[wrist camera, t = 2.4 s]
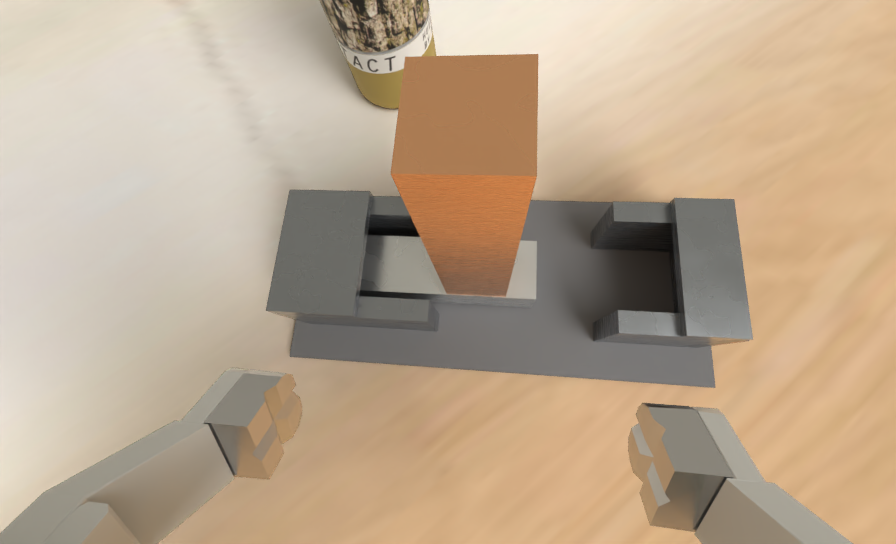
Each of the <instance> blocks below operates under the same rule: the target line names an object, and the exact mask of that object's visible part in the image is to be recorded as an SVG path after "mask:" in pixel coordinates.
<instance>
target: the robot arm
mask: <svg viewBox="0 0 896 544" xmlns="http://www.w3.org/2000/svg"><path fill="white" fill-rule="evenodd" d="M295 385H296V384H295V381H294V378H293V375H291V374H287V373H279V372H270V371H261V370H252V369H250V370H249V369H240V368H230V369H228V370H226V371H225V372H224V373H223V374H222V375H221V376H220V377H219V378H218V380H217V381H216V382H215V383H214V384H213V385H212V386H211V387H210V389H209V390H208V391H207V392H206V393H205V394H204V395H203V396H202V398H201V399H200V400H199V401H198V402H197V403H196V404H195V405H194V407H193V408H192V409H191V410H190V411H189V412H188V413H187V414H186V416H185V417H184V418H183V419H182V420H181V421H173V422H171V423H169V424H167V425H166V426H164V427H162V428H160V429H158V430H157V431H155V432H153V433H151V434H149V435H147V436H146V437H144V438H142V439H140V440H138V441H136V442H135V443H133V444H131V445H129V446H127V447H126V448H124V449H122V450H120V451H118V452H116V453H115V454H113V455H111V456H109V457H107V458H105V459H104V460H102V461H100V462H98V463H96V464H95V465H93V466H91V467H89V468H87V469H85V470H84V471H82V472H80V473H78V474H76V475H74V476H73V477H71V478H69V479H67V480H65V481H64V482H62V483H60V484H58V485H56V486H54V487H53V488H51V489H49V490H47V491H45V492H44V493H42V494H41V495H40V496H39V497H38V498H37V499H36V500H35V501H34V502H33V503H32V504H31V505H30V506H29V507H28V508H27V509H25V510H24V511H23V512H22V513H21V514H20V515H19V516H18V517H17V518H16V519H15V520H14V521H13V522H12V523H11V524H10V525H9V526H8V527H6V528H5V529H4V530H3V531H2V532H1V533H0V544H158V543H159V542H160V541H161V540H162V539H164V538H165V537H166V536H167V535H168V534H169V533H171V532H172V531H173V530H174V529H175V528H177V527H178V526H179V525H180V524H181V523H183V522H184V521H185V520H186V519H187V518H188V517H190V516H191V515H192V514H193V513H194V512H196V511H197V510H198V509H199V508H200V507H202V506H203V505H204V504H205V503H206V502H207V501H209V500H210V499H211V498H212V497H213V496H215V495H216V494H217V493H218V492H219V491H221V490H222V489H223V488H224V487H225V486H227V485H228V484H229V483H230V482H231V481H232V480H234V476H235V477H246V478H257V479H268V480H269V479H270V477H271V476H272V474H273V472H274V470H275V468H276V467H277V465H278V463H279V461H280V459H281V458H282V456H283V454H284V451H283V443H285V442H286V441H288V440H289V439H290V438H292V437H293V436H294V434H295V432H296V430H297V428H298V426H299V423H300V419H301V415H302V404H301V400H300V397H299V396H297V395H296V394H295V393H294V392H293V391H292V390H293V389H294V387H295ZM636 416H637V419H638V422H639V423H638V424H637V425H635V426H634V427H632V428H631V431H630V435H629V438H628V452H629V458H630V463H631V466H632V470H633V473H634V474H635V475H636V476H637V477H638V478H639V479H640V480H641V481H642V482H643V485H642V488H641V490H640V496H641V499H642V502H643V505H644V508H645V511H646V514H647V518H648V521H649V524H650V525H651V526H658V527H664V528H671V529H678V530H685V531H691V532H695V536H696V537H697V538H698V539H699V540H700V542H701V543H702V544H853V543H852V542H850V541H849V540H848V539H846V538H845V537H844V536H842V535H841V534H840V533H839V532H837V531H836V530H835V529H833V528H832V527H831V526H829V525H828V524H827V523H826V522H824V521H823V520H822V519H820V518H819V517H818V516H816V515H815V514H814V513H813V512H811V511H810V510H809V509H807V508H806V507H805V506H803V505H802V504H801V503H800V502H798V501H797V500H796V499H794V498H793V497H792V496H791V495H789V494H788V493H787V492H785V491H784V490H783V489H781V488H780V487H779V486H778V485H776V484H775V483H770V482H766V481H765V480H764V478H763V477H762V475H761V473H760V472H759V470H758V469H757V467H756V465H755V464H754V462H753V461H752V459H751V457H750V456H749V454H748V453H747V451H746V449H745V448H744V446H743V444H742V443H741V441H740V440H739V438H738V436H737V435H736V433H735V432H734V430H733V428H732V427H731V425H730V424H729V422H728V420H727V419H726V417H725V416H724V414H723V413H722V412H721V411H720V410H718V409H714V408H701V407H689V406H677V405H664V404H650V403H642V404H641V405H640V406H639V407H638V410H637V413H636Z"/></svg>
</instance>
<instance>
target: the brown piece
mask: <svg viewBox="0 0 896 544" xmlns="http://www.w3.org/2000/svg"><path fill="white" fill-rule="evenodd" d="M537 110H538V54H524V55H470V56H416V57H405V62H404V70H403V78H402V86H401V94H400V102H399V110H398V118H397V126H396V134H395V142H394V151H393V159H392V167H391V176H392V178H393V180H394V182H395V184H396V186H397V188H398V191H399V193H400V195H401V197H402V199H403V201H404V203H405V206H406V208H407V210H408V212H409V214H410V216H411V218H412V221H413V223H414V225H415V227H416V229H417V231H418V233H419V236H420V237H407V236H378V235H367V243H366V250H365V257H364V265H363V272H362V280H361V287H360V294H359V296H364V297H383V298H401V299H420V300H430V302H435V303H454V304H472V305H491V306H509V307H528V308H531V306H532V305H533V303H534V302H535V300H536V273H537V241H522V240H520V239H521V236H522V232H523V228H524V224H525V220H526V216H527V212H528V208H529V204H530V200H531V196H532V192H533V188H534V185H535V181H536V177H537Z"/></svg>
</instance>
